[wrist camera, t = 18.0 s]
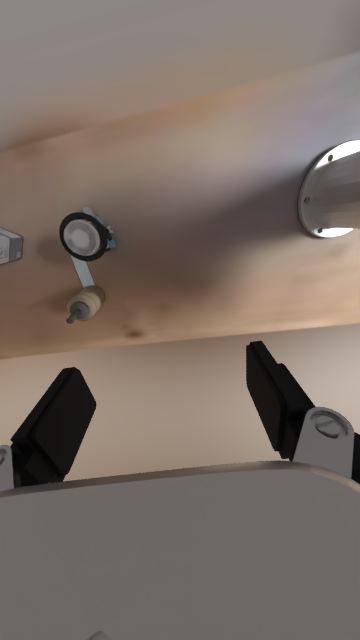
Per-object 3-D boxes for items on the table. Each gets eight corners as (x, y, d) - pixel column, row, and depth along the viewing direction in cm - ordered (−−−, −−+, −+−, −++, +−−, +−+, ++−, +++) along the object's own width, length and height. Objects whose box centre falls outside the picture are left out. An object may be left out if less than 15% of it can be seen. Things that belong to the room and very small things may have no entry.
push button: (73, 216, 30) (35, 214, 21) (103, 199, 29) (76, 189, 20) (100, 257, 33) (76, 270, 24) (127, 242, 32) (113, 250, 23)
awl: (101, 283, 35) (79, 305, 26) (107, 304, 36) (89, 331, 27) (78, 286, 35) (48, 309, 26) (86, 307, 36) (60, 335, 27)
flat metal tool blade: (73, 228, 31) (73, 228, 31) (102, 304, 37) (101, 305, 36) (61, 230, 31) (60, 230, 31) (91, 306, 37) (91, 307, 36)
